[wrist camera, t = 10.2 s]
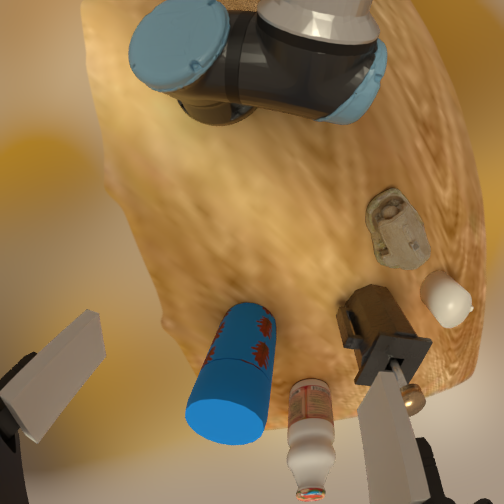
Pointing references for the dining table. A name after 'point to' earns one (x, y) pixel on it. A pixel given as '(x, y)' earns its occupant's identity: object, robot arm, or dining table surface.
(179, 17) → the robot arm
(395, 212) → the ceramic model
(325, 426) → the fruit juice
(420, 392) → the plunger
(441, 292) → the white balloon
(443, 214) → the dining table surface
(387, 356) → the press body
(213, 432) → the thermos
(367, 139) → the dining table surface
